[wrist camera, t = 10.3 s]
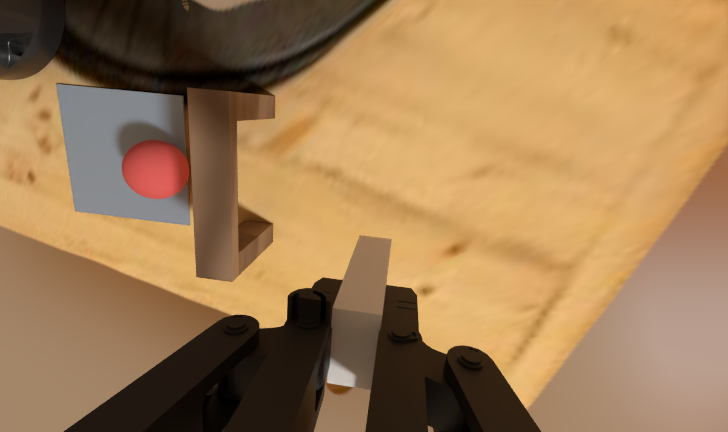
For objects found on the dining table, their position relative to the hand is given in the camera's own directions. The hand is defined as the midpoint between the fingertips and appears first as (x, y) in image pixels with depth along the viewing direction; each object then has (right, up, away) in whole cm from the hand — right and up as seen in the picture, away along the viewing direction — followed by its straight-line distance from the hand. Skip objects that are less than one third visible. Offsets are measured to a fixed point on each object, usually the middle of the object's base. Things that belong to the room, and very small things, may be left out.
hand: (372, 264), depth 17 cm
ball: (-20, +7, +17) cm, 27 cm away
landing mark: (-25, +8, +20) cm, 33 cm away
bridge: (-11, +7, +19) cm, 23 cm away
